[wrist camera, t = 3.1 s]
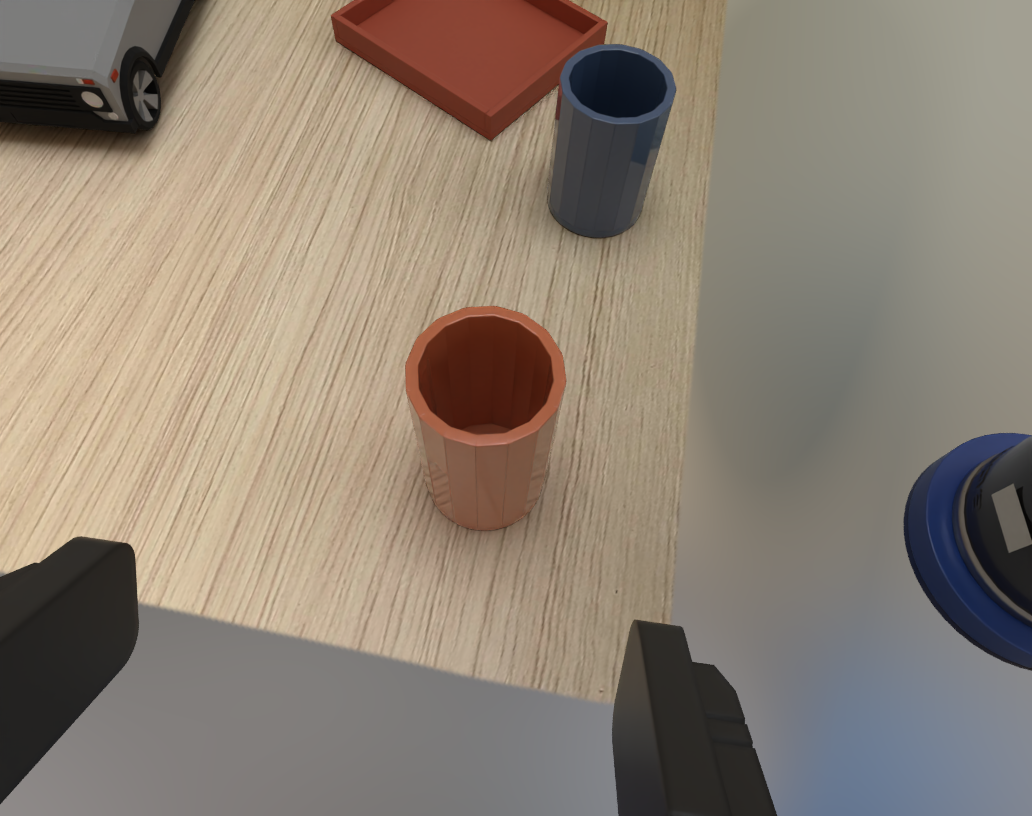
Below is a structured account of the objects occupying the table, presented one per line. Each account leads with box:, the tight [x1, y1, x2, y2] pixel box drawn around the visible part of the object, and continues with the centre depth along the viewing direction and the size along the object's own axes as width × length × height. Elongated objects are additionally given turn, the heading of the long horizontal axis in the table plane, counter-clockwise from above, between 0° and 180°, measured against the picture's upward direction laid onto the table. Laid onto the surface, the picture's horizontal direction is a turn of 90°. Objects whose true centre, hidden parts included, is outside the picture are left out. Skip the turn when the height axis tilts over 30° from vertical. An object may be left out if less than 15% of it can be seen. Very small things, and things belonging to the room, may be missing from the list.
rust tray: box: [331, 0, 608, 140], centre depth 51 cm, size 15×13×2 cm
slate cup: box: [547, 44, 676, 238], centre depth 42 cm, size 6×6×9 cm
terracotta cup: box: [405, 306, 566, 531], centre depth 32 cm, size 6×6×11 cm
